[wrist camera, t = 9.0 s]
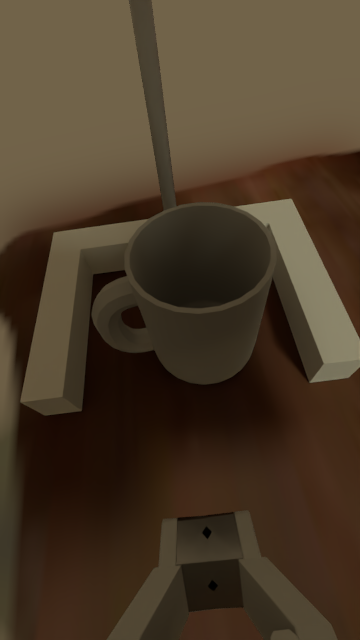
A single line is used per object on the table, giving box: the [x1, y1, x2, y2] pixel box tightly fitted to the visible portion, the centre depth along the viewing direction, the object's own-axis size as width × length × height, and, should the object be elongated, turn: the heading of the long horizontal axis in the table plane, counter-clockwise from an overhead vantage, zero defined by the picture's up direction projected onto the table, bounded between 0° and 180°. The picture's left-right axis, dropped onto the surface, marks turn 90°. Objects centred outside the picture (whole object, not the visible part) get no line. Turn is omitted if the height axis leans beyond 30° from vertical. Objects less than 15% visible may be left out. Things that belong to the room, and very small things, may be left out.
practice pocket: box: [20, 0, 360, 416], centre depth 14 cm, size 14×20×21 cm
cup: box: [91, 202, 277, 385], centre depth 18 cm, size 7×10×9 cm
